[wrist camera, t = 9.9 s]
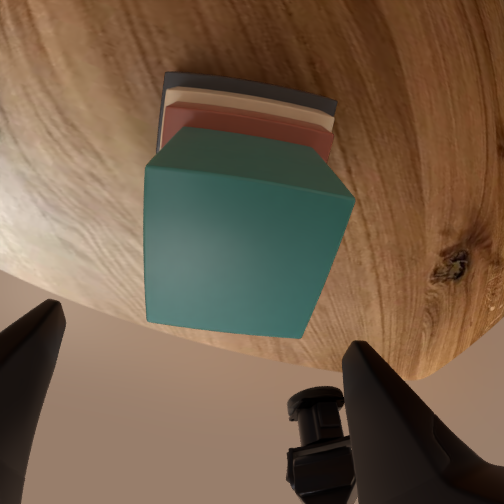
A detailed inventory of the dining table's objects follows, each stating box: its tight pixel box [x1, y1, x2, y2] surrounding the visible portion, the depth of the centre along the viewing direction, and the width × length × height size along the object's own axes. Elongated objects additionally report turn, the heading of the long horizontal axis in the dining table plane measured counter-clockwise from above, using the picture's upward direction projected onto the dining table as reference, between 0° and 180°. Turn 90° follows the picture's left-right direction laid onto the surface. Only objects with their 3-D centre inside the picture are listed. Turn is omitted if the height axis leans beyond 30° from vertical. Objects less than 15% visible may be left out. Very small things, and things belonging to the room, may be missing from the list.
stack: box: [156, 71, 338, 164], centre depth 15 cm, size 9×9×7 cm
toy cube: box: [143, 126, 355, 339], centre depth 10 cm, size 5×5×5 cm
